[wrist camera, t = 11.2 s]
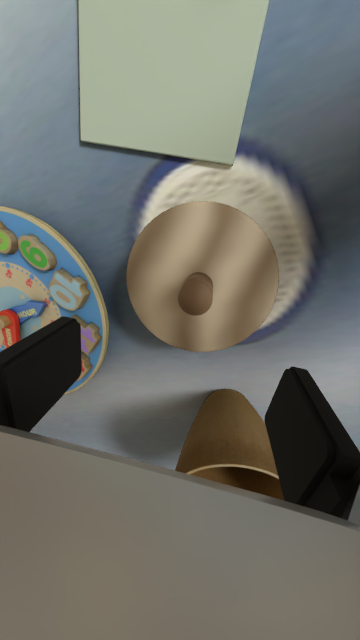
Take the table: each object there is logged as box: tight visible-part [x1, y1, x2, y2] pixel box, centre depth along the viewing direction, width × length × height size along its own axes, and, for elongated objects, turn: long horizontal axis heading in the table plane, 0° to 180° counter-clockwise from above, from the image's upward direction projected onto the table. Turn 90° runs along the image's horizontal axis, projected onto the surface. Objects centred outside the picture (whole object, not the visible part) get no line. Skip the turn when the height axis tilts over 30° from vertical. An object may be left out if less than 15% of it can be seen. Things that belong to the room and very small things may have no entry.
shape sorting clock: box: [0, 206, 109, 395], centre depth 34 cm, size 31×30×6 cm
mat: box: [79, 0, 269, 166], centre depth 22 cm, size 18×18×1 cm
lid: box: [127, 201, 279, 352], centre depth 23 cm, size 17×17×6 cm
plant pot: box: [175, 389, 284, 501], centre depth 31 cm, size 15×15×16 cm
